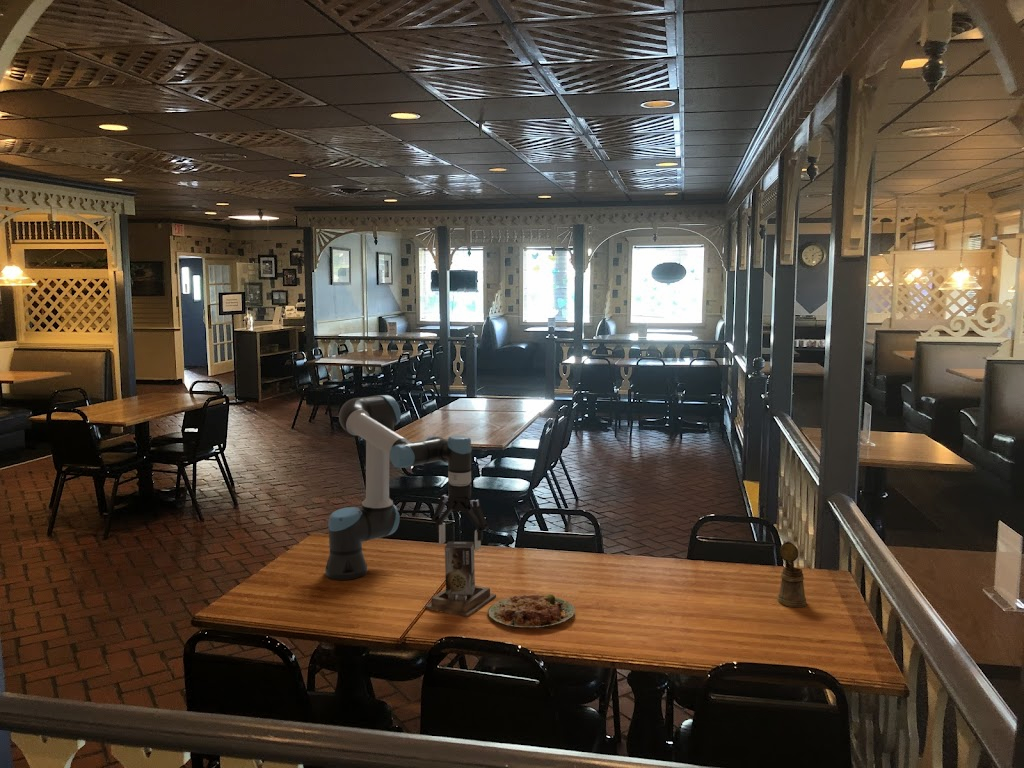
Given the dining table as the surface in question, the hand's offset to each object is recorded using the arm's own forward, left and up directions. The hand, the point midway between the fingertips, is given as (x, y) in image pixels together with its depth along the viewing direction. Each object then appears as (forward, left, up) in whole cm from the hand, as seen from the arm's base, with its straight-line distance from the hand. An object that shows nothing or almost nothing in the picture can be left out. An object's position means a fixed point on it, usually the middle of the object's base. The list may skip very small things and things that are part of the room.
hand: (459, 546), depth 260 cm
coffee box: (0, 0, -16) cm, 16 cm away
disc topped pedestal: (+97, +51, -19) cm, 112 cm away
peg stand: (0, 0, -19) cm, 19 cm away
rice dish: (+25, +2, -20) cm, 32 cm away
